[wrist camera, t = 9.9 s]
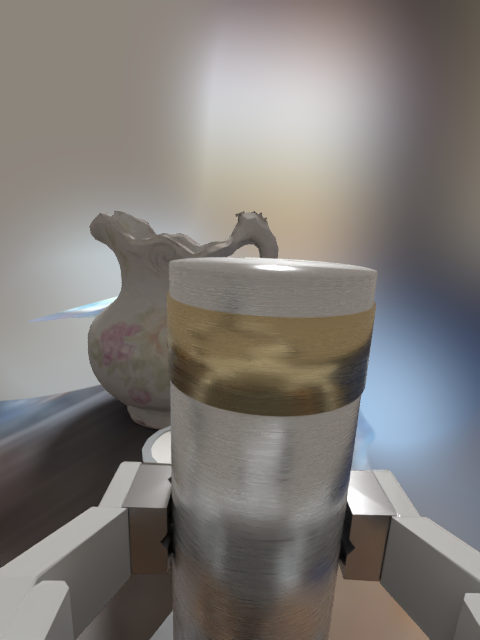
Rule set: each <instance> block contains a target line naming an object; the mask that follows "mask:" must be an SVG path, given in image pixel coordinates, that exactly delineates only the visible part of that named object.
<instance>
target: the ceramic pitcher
mask: <svg viewBox="0 0 480 640" xmlns="http://www.w3.org/2000/svg"><path fill="white" fill-rule="evenodd" d="M114 212H115V213H114V215H113V216H110V215H109V214H108V213H100V214H99V215H98V216H97V217H96V218H95V219H94V220H93V221H92V223H91V225H90V231H91V234H92V236H93V237H94V238H95V239H96V240H98V241H100V242H102V243H104V244H106V245H107V246H108V247H109V248H110V249H111V250H113V252H114V253H115V255H116V257H117V259H118V262H119V264H120V268H121V276H122V288H121V292H120V294H119V296H118V298H117V299H116V300H115V301H114V302H113V303H111V304H110V305H109V306H108V307H106V308H105V309H104V310H103V311H102V312H101V313H100V314H99V315H98V316H97V317H96V318H95V319H94V321H93V322H92V324H91V326H90V329H89V333H88V354H89V360H90V364H91V367H92V370H93V372H94V374H95V376H96V377H97V379H98V381H99V382H100V383H101V385H102V386H103V387H104V388H105V389H106V391H107V392H109V393H110V394H111V395H112V396H113V397H115V398H116V399H118V400H119V401H121V402H122V403H124V404H126V405H127V410H128V413H129V415H130V417H131V419H132V420H133V421H134V422H136V423H138V424H140V425H142V426H144V427H148V428H153V429H158V430H161V429H163V428H166V427H169V426H171V399H170V379H169V376H168V357H167V292H168V291H169V262H170V261H173V260H178V259H186V258H208V257H228V256H230V255H232V254H233V253H234V252H235V251H236V250H237V249H239V248H240V247H242V246H244V245H247V244H254V245H255V246H256V247H257V248H259V252H260V258H271V259H278V246H277V242H276V238H275V237H274V235H273V234H272V232H271V231H270V229H269V227H268V223H267V221H266V219H267V218H263V217H262V213H260V214H257V213H256V212H255V211H254V212H251V213H244V211H243V212H241V213H239V214H236V217H237V216H238V223H237V225H236V226H235V228H234V230H233V232H232V234H231V236H230V237H229V238H228V239H227V240H226V241H224V242H211V243H208V244H205V245H202V246H201V245H200V244H198V243H197V242H195V241H194V240H193V239H191V238H190V237H188V236H187V235H184V234H181V233H179V234H167V233H163V234H159V235H157V234H155V232H154V231H153V229H152V228H151V227H150V225H149V223H147V222H146V221H144V220H141V219H138V218H135V217H133V216H131V215H129V214H127V213H124V212H120V211H114Z"/></svg>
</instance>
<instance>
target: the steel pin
mask: <svg viewBox="0 0 480 640" xmlns="http://www.w3.org/2000/svg"><path fill="white" fill-rule="evenodd" d="M376 280H377V271H376V270H373V269H369V268H365V267H359V266H352V265H346V264H338V263H329V262H328V263H327V262H318V261H305V260H289V259H271V258H240V257H239V258H238V257H208V258H186V259H178V260H173V261H170V262H169V291H168V292H167V357H168V376H169V379H170V399H171V491H172V583H173V640H328V638H329V631H330V623H331V616H332V608H333V601H334V593H335V586H336V578H337V571H338V563H339V556H340V549H341V541H342V534H343V526H344V519H345V511H346V504H347V496H348V489H349V481H350V474H351V467H352V459H353V452H354V444H355V437H356V429H357V422H358V414H359V407H360V399H361V394H362V393H363V391H364V389H365V383H366V376H367V368H368V361H369V353H370V346H371V338H372V331H373V324H374V317H375V310H376V303H375V302H374V295H375V287H376Z"/></svg>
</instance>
